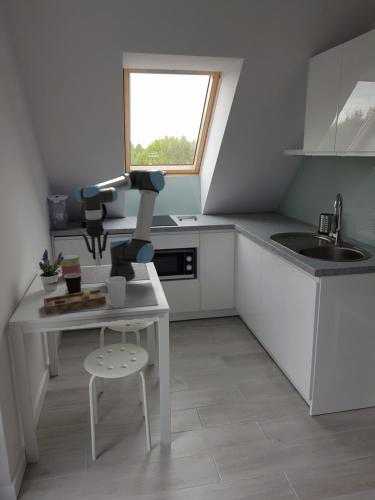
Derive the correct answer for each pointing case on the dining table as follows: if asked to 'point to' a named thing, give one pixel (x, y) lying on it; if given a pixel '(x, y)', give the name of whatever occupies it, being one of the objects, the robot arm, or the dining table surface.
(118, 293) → the foam cup
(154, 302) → the dining table surface
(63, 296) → the tray
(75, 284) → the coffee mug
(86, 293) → the ball
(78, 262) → the canned food
